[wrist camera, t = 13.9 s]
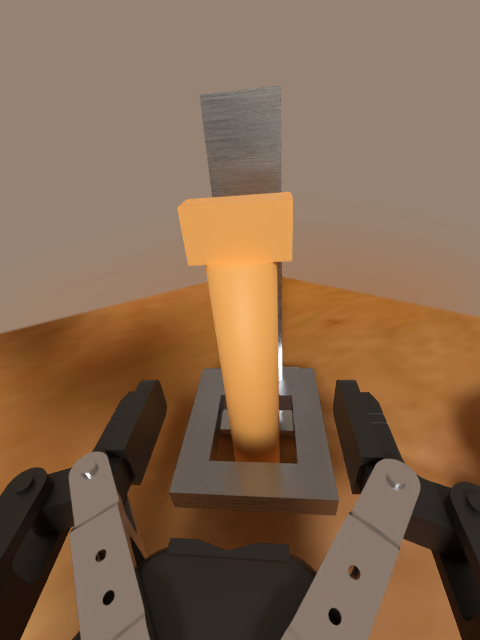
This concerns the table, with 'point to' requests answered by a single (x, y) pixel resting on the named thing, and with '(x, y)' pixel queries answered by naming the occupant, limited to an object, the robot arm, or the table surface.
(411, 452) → the table surface
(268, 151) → the scaffold post with crossbars
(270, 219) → the wedge pin
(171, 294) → the table surface
